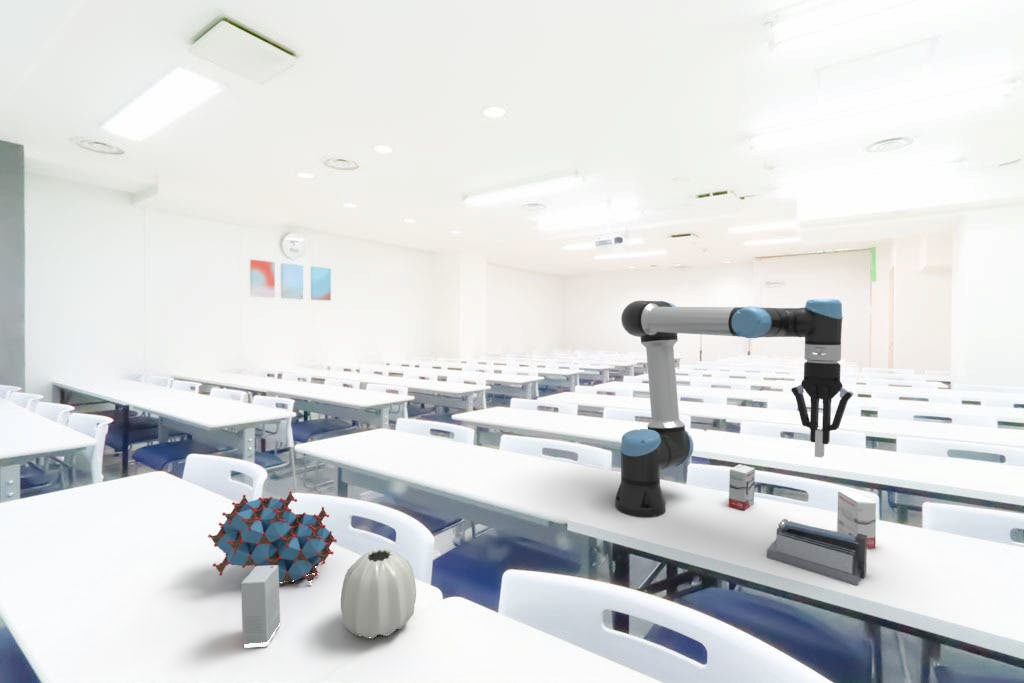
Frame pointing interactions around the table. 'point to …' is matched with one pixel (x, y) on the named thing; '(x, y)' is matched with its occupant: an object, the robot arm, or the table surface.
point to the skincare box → (260, 604)
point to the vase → (378, 594)
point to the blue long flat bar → (816, 531)
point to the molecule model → (274, 538)
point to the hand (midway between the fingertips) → (819, 455)
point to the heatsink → (821, 554)
